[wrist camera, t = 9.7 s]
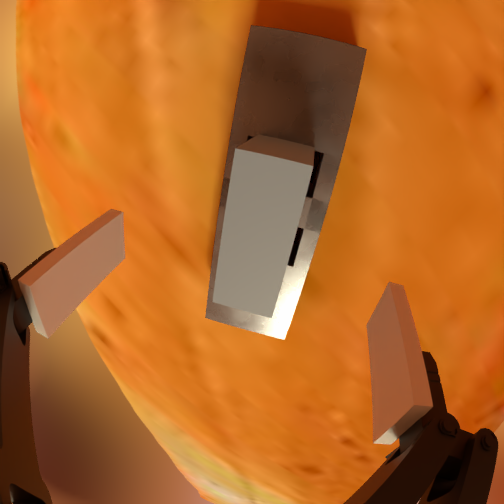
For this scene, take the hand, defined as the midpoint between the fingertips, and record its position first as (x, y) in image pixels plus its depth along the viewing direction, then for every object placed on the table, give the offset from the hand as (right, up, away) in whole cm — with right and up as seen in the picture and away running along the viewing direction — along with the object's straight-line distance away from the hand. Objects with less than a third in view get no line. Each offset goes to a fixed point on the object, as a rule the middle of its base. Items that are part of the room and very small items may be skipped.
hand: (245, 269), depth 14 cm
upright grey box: (+2, +6, +12) cm, 13 cm away
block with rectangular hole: (+3, +6, +12) cm, 14 cm away
